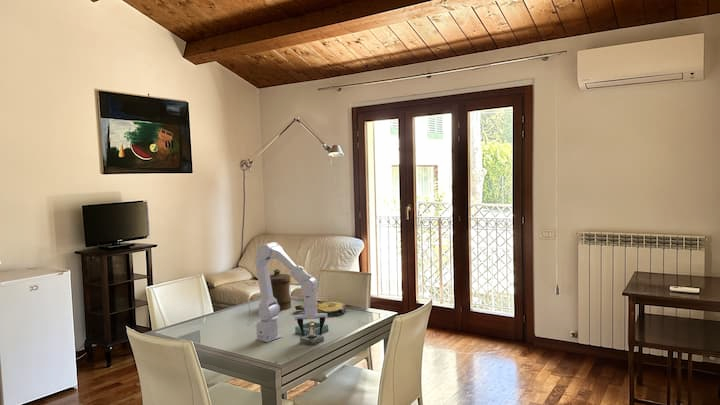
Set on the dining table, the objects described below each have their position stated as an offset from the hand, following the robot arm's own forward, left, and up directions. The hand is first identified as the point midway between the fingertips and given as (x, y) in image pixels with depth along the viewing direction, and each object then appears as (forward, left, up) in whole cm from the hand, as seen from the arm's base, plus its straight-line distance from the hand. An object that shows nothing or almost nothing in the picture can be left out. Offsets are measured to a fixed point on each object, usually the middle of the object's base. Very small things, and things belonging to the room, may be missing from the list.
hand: (311, 334), depth 219 cm
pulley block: (+38, +30, -3) cm, 48 cm away
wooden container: (+32, +59, -3) cm, 67 cm away
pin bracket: (0, 0, -3) cm, 3 cm away
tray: (+10, +10, -3) cm, 15 cm away
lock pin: (0, 0, -3) cm, 3 cm away
